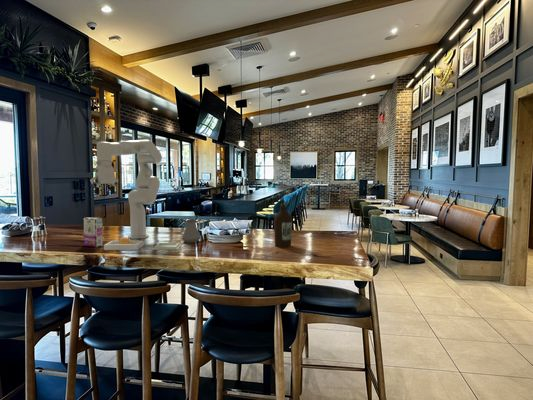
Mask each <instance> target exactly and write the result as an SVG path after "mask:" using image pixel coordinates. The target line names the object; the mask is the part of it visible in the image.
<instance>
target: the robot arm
mask: <svg viewBox="0 0 533 400" xmlns="http://www.w3.org/2000/svg"><path fill="white" fill-rule="evenodd" d="M125 155H126V156H127V155H128V156H129V155H136V161H137V163H138V166H139V172H138V174H137V178H136V180H135V183H134V184H135V189H133V190H130V192H128V195H127V198H128V199H127V200H128V204H129V213H130V214H129V219H130V235H128V237H127V238H128V239H131V240H133V239H134V240H138V239H146V238H148V237H149V234H147V221H146V219H147V218H146V217H147V216H146V208H145V206H144V205H153V204H154V203H155V201H156V199H157V196H158V192H159V190H160V187H161V186H160V185H161V183H160V179H159V177H157V176H155V175H154V176H153V169H152V167H151V166H150V164H160V163H161V162H162V159H163V157H162V153H161V151H160V150H159V149H158V147H157V146H156V144H155V143H154V142H153V141H151V140H150V139H136V140H135V139H133V140H124V141H122V140H121V141H116V142H115V141H114V142H109V141H108V142H107V141H99V142H96V161H95V164H96V167H95V171H94V177H92V178H90V179H89V181H90V184H91V185H92V186H93V188H94V194H95V195H100V194H101V193H100V190H101V189H100V185H109V186H110V187H109V194H111V195H115V193H116V187H117V185H118V183H119V179H118V178H117V177H116V176H115V175H116V174H115V169H114V166H112V165H113V163H112V160H113V159H112V157H119V156H125Z"/></svg>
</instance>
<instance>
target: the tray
mask: <svg viewBox="0 0 533 400" xmlns="http://www.w3.org/2000/svg"><path fill="white" fill-rule="evenodd" d="M181 246H182V244H181V243H180V242H159V243H157V244H156V245H155V246H153V248H152V249H151V250H152V251H161V250H162V251H164V250H165V251H166V250H168V251H169V250H171V251H172V250H173V251H174V250H176V251H177V250H179V248H180V247H181Z"/></svg>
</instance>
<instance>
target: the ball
mask: <svg viewBox="0 0 533 400" xmlns="http://www.w3.org/2000/svg"><path fill="white" fill-rule="evenodd" d="M118 241H119V244H130V241H131V240H130V238H128V237H126V236H125V237H121V238H120V239H119V240H118Z"/></svg>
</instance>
